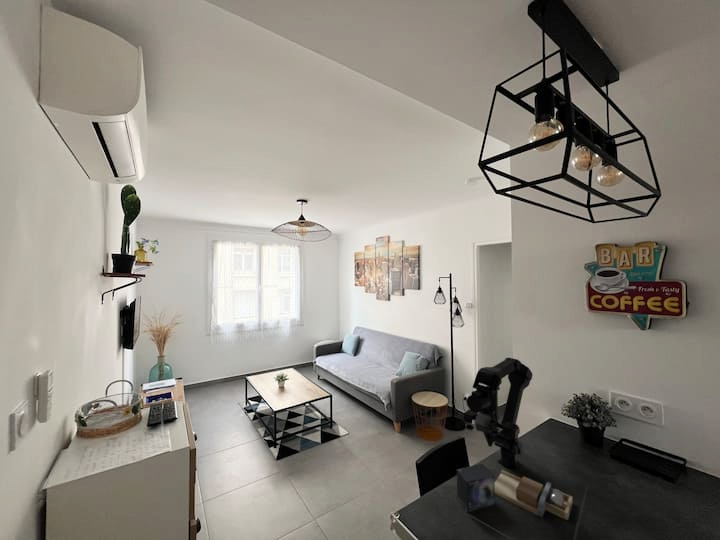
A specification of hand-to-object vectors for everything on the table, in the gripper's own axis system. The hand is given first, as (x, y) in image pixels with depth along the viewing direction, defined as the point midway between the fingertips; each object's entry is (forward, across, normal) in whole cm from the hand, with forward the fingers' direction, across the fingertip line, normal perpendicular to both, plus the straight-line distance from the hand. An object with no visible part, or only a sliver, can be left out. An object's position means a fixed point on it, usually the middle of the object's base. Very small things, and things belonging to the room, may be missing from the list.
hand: (490, 446), depth 108 cm
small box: (+12, 0, -15) cm, 19 cm away
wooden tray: (+12, +13, -1) cm, 18 cm away
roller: (+10, +20, +1) cm, 22 cm away
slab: (+11, +13, -1) cm, 17 cm away
